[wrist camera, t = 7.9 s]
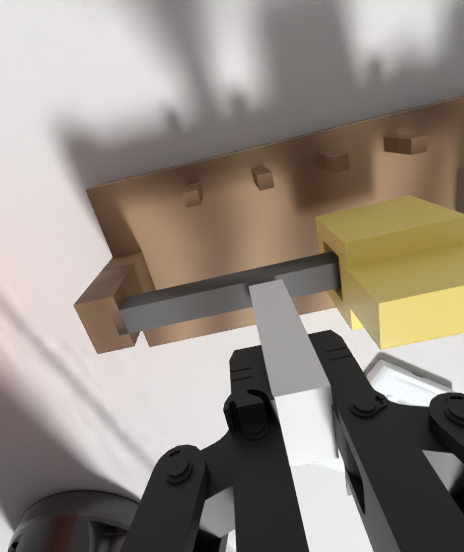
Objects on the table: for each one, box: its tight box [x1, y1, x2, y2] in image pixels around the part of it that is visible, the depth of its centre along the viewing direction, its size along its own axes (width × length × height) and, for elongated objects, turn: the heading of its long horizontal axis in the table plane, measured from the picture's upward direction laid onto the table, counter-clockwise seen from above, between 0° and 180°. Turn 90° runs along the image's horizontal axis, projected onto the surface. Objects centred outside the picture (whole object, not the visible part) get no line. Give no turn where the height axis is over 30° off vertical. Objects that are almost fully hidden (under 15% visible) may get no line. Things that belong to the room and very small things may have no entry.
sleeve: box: [316, 195, 464, 350], centre depth 15 cm, size 5×4×7 cm
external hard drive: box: [314, 359, 455, 473], centre depth 30 cm, size 2×8×12 cm
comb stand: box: [74, 96, 464, 354], centre depth 19 cm, size 25×12×9 cm, turn 103°
